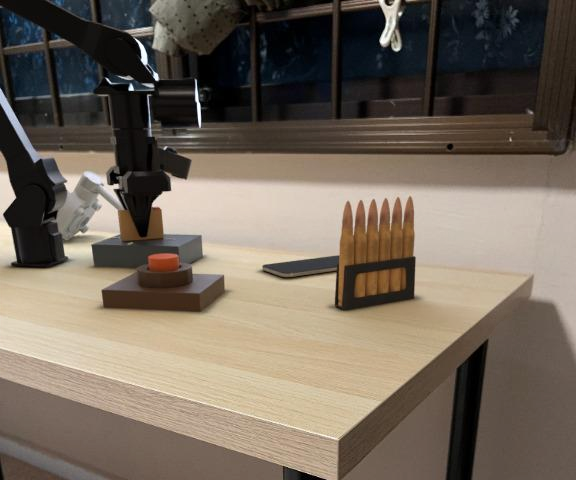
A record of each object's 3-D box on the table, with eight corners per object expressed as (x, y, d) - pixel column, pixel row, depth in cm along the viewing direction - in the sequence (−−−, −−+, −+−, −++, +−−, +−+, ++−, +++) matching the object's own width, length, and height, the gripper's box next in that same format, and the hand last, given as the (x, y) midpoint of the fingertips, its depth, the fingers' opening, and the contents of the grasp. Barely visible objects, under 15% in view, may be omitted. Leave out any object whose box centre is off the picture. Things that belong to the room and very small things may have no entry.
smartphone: (369, 262, 92) (285, 273, 84) (369, 266, 92) (285, 278, 85) (340, 254, 98) (259, 264, 90) (340, 259, 98) (259, 269, 90)
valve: (110, 293, 117) (148, 236, 110) (28, 224, 115) (61, 160, 108) (136, 278, 126) (172, 224, 118) (60, 213, 124) (93, 153, 116)
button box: (103, 307, 72) (99, 274, 70) (138, 288, 81) (135, 258, 80) (200, 312, 70) (198, 277, 68) (225, 291, 79) (223, 260, 77)
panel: (94, 267, 94) (90, 243, 93) (124, 254, 104) (122, 232, 103) (180, 269, 92) (178, 245, 90) (203, 256, 102) (201, 233, 100)
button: (144, 273, 73) (143, 258, 72) (156, 267, 76) (154, 253, 75) (173, 274, 72) (172, 259, 71) (183, 267, 75) (182, 253, 75)
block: (122, 241, 95) (119, 209, 93) (120, 239, 96) (117, 208, 94) (164, 238, 97) (161, 207, 95) (161, 236, 99) (158, 206, 97)
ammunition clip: (343, 310, 70) (345, 202, 65) (334, 306, 72) (336, 200, 67) (414, 297, 75) (421, 196, 70) (404, 294, 76) (411, 195, 72)
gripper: (202, 128, 86) (208, 240, 92) (169, 129, 101) (176, 225, 107) (122, 128, 82) (134, 246, 87) (100, 130, 97) (112, 229, 103)
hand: (141, 236), depth 96 cm, fingers closed on block, 2 cm apart
